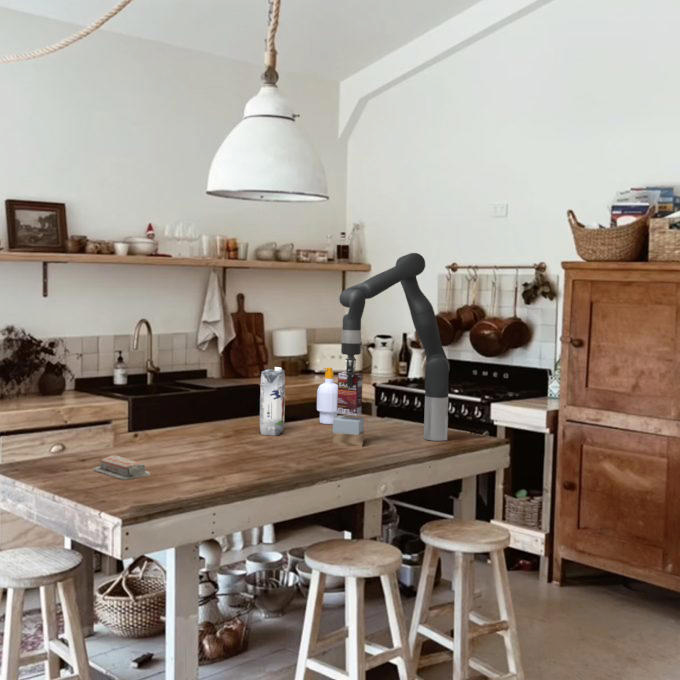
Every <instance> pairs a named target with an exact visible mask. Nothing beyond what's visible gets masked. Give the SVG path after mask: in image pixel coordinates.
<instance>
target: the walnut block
mask: <svg viewBox="0 0 680 680" xmlns="http://www.w3.org/2000/svg"><path fill="white" fill-rule="evenodd" d="M332 434H333V437H332V438H333V440H332V446H333V445H337V446H336V447H351V446H362V445H363V444H364V442H363V441H365V440H364V438H365V430H364V431H362V432H361V433H360V434H359V435H354V434H339V433H333V432H332ZM363 446H364V445H363ZM363 446H362V447H363Z"/></svg>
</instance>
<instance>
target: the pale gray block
mask: <svg viewBox="0 0 680 680" xmlns="http://www.w3.org/2000/svg"><path fill="white" fill-rule="evenodd" d="M364 426H365V417H360V416H358V417H357V416H346V415H345V416H342V415H339V416H338V415H337V418H335V419H334V420H333V424H332V434H333V433H339V434H354V435H359V434H360V433H361V432H362V431H364V432H365V430H364V429H365V427H364Z"/></svg>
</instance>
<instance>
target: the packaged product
mask: <svg viewBox="0 0 680 680" xmlns="http://www.w3.org/2000/svg"><path fill="white" fill-rule="evenodd" d="M92 470H93V471H94V472H98V473H101V474H103V475H106V476H110V477H113V478H114V479H115V478H116V479H119V480H122V481H127V480H134V479H139V478H144V477H150V476H151V475H150V474H151V473H150V472H151V471H147V470H146V464H144V463H142V462H138V461H136V460H133V459H129V458H126V457H124V456H120V455H115V454H114V455H113V454H111V455H109V456H107V457H104V458H102V459H101V460H99V466H96V467H92Z"/></svg>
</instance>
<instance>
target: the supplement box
mask: <svg viewBox="0 0 680 680" xmlns="http://www.w3.org/2000/svg"><path fill="white" fill-rule="evenodd" d="M346 373H347V371H340V372H338V374H337V375H338V376H337V385H338V398H337V415H338V414H341V415H349V416H354V417H357V416H359V415H360V416H361V415H362V401H363V377H364V373H363V372H355V373H353V375H354V376H353V386H352V387H348V386H347V376H346Z"/></svg>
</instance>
